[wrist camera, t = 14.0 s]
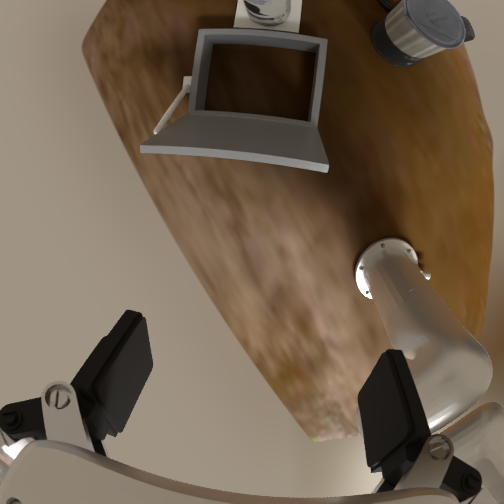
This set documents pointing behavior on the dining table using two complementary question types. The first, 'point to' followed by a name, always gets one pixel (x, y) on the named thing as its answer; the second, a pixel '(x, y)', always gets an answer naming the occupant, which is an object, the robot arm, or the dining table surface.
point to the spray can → (268, 11)
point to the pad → (287, 26)
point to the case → (243, 124)
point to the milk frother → (419, 30)
